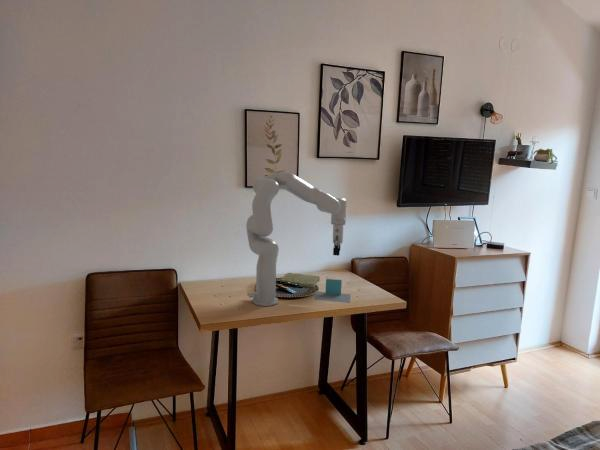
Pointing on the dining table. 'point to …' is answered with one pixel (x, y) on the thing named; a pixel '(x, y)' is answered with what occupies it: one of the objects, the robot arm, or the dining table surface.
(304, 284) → the decorative tile
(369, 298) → the dining table surface
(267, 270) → the robot arm
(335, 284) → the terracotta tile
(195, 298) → the dining table surface
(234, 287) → the dining table surface
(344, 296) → the rubber mat
